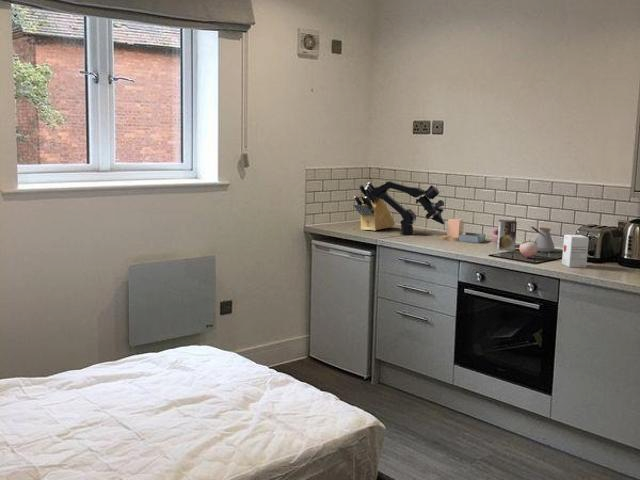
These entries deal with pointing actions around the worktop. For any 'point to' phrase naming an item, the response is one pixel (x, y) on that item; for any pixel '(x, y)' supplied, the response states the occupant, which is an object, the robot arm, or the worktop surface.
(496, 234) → the mortar and pestle
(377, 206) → the knife block
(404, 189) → the robot arm
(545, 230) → the coffee pot
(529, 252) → the decorative fruit
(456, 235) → the terracotta block
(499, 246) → the coffee box
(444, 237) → the tan wooden slab
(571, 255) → the supplement box
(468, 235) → the slate tray
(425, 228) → the worktop surface
